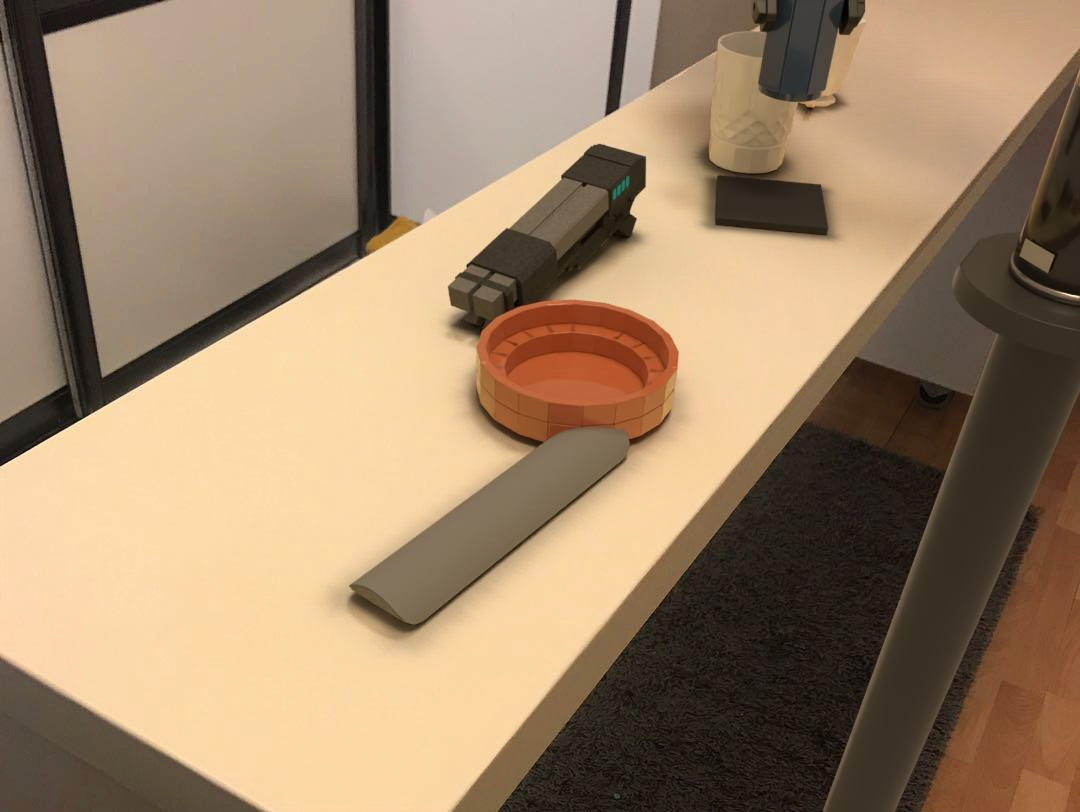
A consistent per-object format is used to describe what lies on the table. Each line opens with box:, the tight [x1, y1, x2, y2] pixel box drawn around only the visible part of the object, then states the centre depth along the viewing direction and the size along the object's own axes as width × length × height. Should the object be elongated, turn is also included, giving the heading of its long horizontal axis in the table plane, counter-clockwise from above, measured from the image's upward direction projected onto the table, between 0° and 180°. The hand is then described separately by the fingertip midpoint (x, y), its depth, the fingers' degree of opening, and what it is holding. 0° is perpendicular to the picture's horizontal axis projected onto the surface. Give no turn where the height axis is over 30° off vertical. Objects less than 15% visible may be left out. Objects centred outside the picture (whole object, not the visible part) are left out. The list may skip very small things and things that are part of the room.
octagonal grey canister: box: [758, 0, 844, 103], centre depth 81 cm, size 5×5×8 cm
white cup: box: [708, 30, 799, 175], centre depth 94 cm, size 8×8×10 cm
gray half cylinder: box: [348, 427, 631, 625], centre depth 57 cm, size 4×20×2 cm, turn 142°
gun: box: [447, 143, 647, 329], centre depth 78 cm, size 4×20×10 cm, turn 147°
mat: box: [715, 174, 829, 236], centre depth 90 cm, size 9×9×1 cm
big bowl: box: [475, 299, 680, 443], centre depth 66 cm, size 12×12×4 cm
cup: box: [798, 17, 867, 109], centre depth 107 cm, size 7×10×8 cm
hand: (808, 27), depth 79 cm, fingers closed on octagonal grey canister, 5 cm apart
